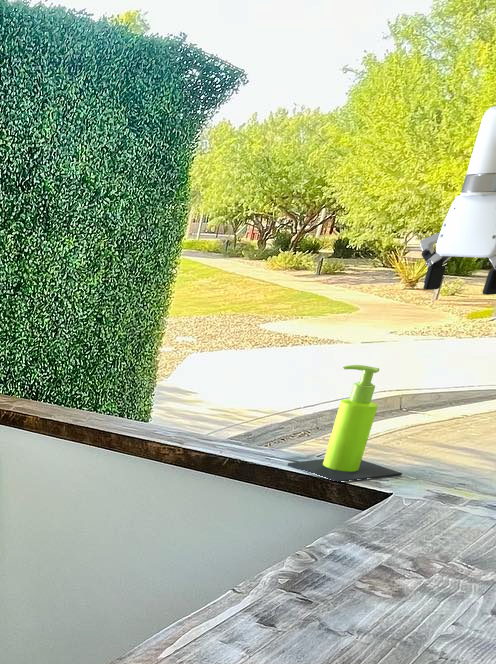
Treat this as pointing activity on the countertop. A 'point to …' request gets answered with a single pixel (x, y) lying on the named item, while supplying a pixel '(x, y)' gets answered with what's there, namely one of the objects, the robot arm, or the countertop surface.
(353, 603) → the countertop surface
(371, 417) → the soap dispenser
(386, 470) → the mat
